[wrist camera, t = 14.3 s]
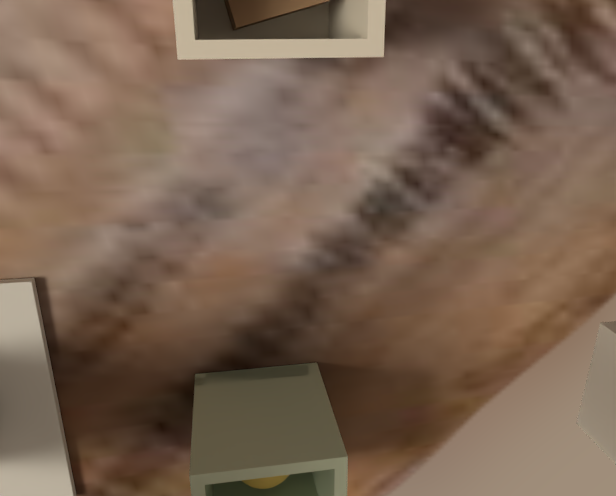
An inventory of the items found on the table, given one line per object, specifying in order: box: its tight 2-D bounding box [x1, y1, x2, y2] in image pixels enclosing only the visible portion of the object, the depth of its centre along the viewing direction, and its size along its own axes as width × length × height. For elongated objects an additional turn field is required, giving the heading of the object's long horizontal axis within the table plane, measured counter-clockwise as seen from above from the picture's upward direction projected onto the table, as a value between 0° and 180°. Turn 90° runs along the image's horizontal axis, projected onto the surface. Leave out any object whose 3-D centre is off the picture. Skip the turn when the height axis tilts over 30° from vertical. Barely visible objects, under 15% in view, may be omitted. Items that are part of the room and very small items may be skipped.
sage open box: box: [189, 363, 348, 496], centre depth 29 cm, size 7×7×8 cm
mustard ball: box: [241, 474, 290, 489], centre depth 30 cm, size 4×4×4 cm
